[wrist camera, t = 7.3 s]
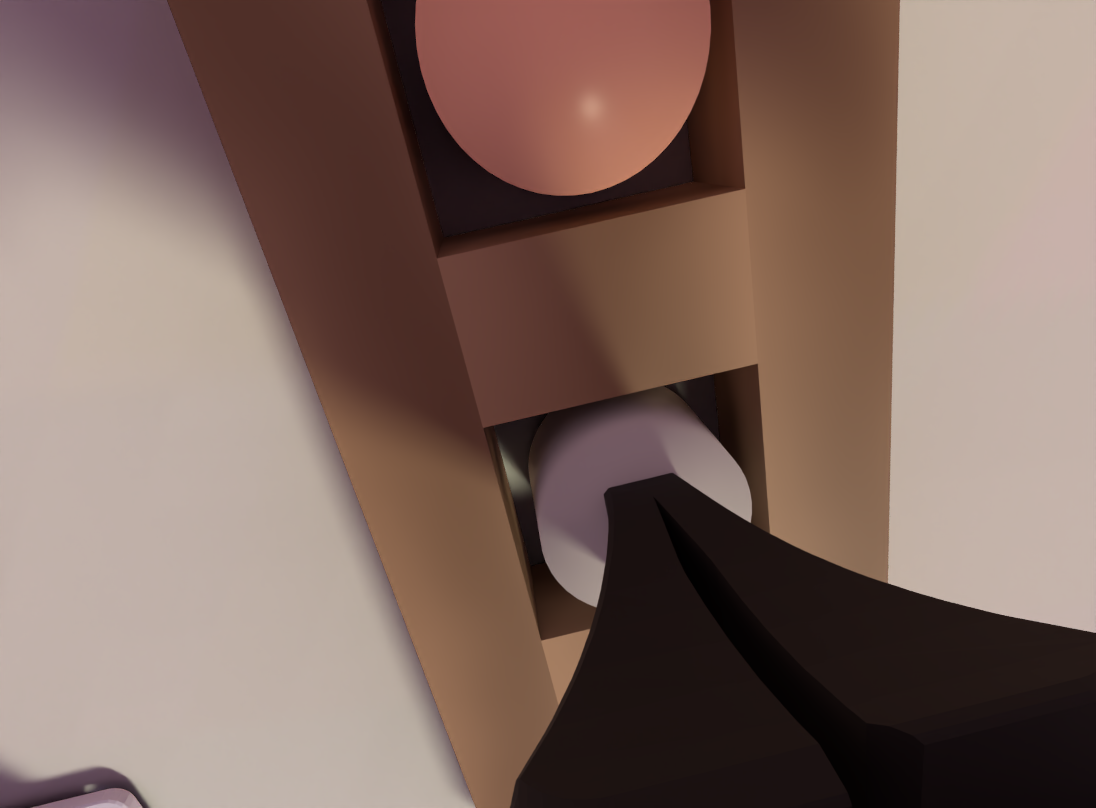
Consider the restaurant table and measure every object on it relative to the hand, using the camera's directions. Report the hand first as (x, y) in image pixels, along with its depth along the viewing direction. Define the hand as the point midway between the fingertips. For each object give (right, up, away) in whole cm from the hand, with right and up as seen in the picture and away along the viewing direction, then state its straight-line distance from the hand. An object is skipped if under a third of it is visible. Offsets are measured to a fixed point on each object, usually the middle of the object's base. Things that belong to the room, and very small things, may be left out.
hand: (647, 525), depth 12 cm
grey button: (0, +1, +2) cm, 3 cm away
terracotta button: (-2, +8, -1) cm, 8 cm away
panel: (0, +1, +3) cm, 3 cm away
